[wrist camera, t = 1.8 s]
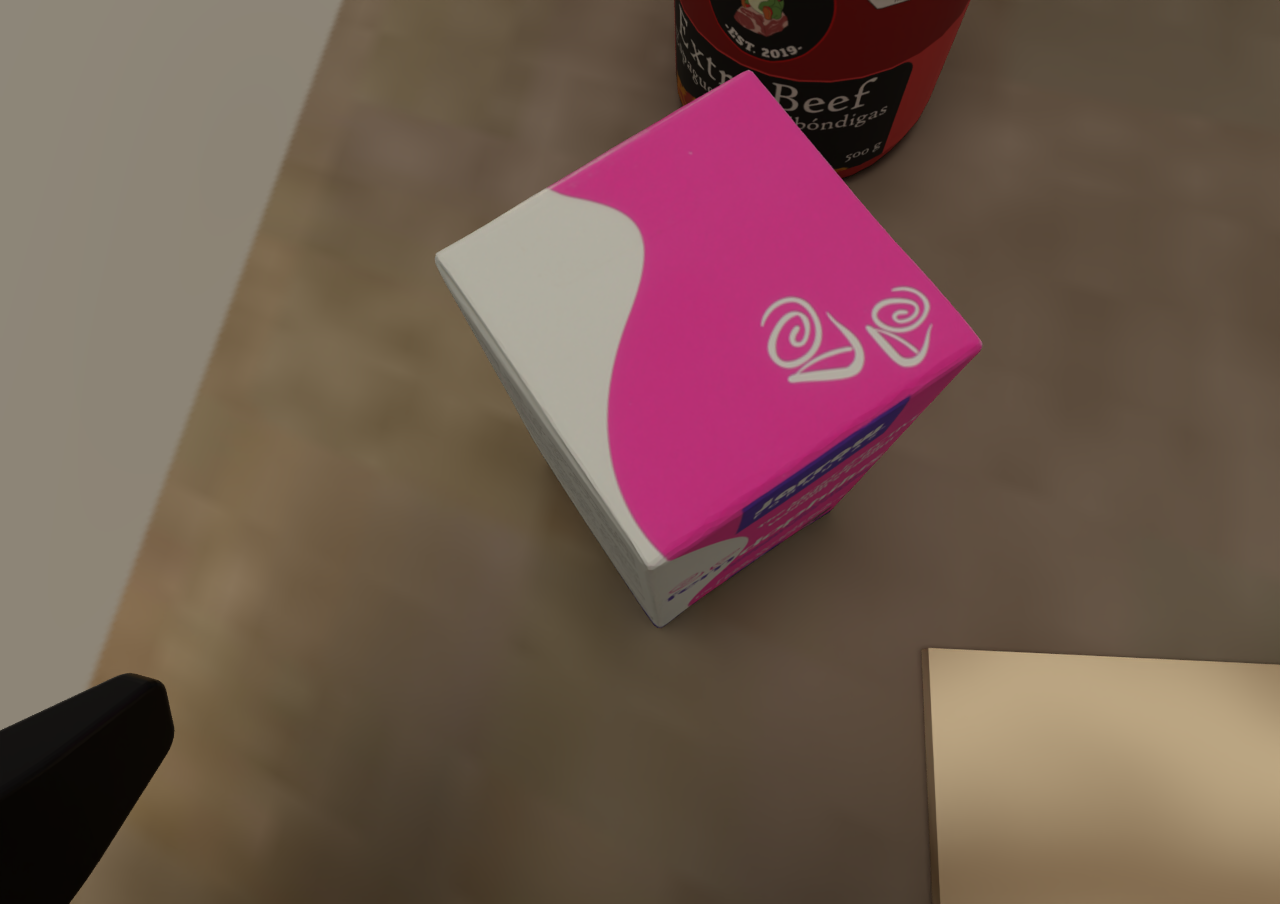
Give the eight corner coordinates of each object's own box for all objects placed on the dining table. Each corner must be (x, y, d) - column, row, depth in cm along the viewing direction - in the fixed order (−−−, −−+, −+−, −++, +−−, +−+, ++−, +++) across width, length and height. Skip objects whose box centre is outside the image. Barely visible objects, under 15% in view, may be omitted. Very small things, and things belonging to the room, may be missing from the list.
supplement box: (662, 639, 21) (635, 582, 10) (542, 457, 23) (408, 237, 12) (843, 516, 22) (1000, 336, 11) (715, 346, 23) (739, 41, 12)
